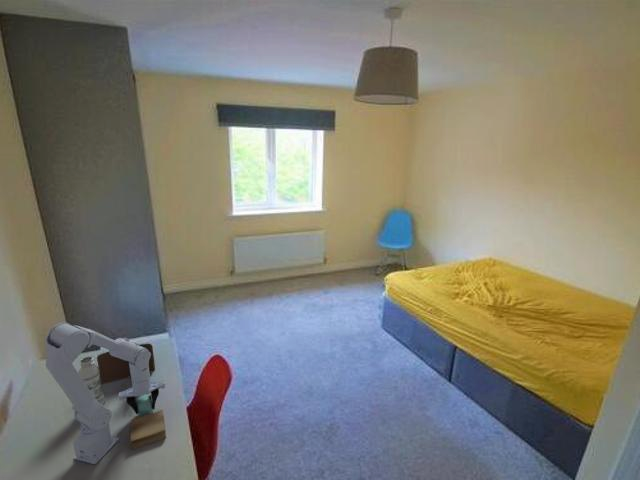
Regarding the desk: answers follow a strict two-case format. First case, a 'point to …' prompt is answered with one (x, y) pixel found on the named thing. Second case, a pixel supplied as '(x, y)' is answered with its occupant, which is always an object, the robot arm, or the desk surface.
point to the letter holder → (119, 366)
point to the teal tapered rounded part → (144, 405)
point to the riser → (147, 429)
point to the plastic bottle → (92, 378)
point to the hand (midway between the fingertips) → (145, 409)
